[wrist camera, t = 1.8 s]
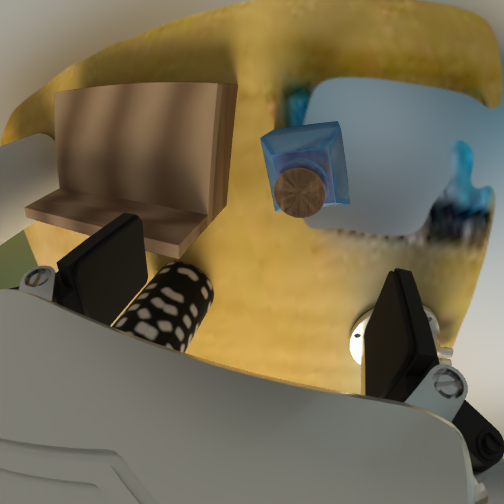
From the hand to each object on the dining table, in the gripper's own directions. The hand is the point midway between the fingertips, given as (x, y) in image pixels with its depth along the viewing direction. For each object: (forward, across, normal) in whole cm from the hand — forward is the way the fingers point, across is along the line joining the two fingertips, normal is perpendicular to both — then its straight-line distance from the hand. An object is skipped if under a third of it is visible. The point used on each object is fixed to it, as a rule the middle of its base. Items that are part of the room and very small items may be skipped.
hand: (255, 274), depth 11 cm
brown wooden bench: (+20, +17, 0) cm, 27 cm away
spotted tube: (+21, +13, +19) cm, 31 cm away
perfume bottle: (+21, -1, 0) cm, 21 cm away
